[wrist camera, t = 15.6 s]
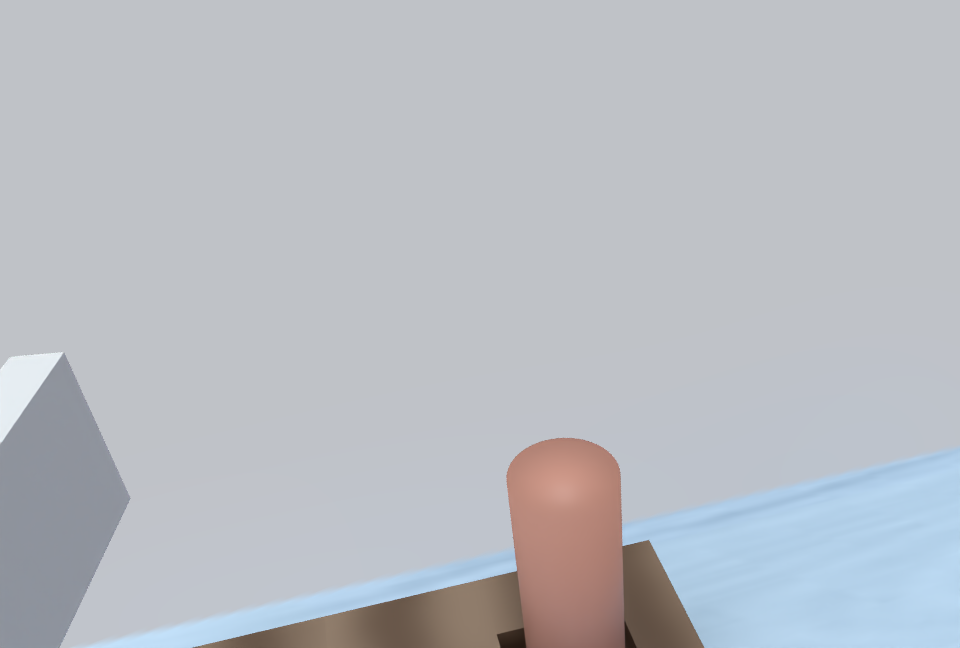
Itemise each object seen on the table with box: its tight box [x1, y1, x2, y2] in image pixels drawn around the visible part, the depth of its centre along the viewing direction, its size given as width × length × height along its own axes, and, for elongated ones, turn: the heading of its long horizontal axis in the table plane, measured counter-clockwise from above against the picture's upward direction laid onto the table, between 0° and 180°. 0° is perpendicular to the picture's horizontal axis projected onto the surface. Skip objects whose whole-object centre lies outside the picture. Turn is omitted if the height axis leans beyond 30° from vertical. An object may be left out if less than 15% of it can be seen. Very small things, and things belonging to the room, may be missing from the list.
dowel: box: [507, 438, 625, 648], centre depth 35 cm, size 4×4×14 cm
